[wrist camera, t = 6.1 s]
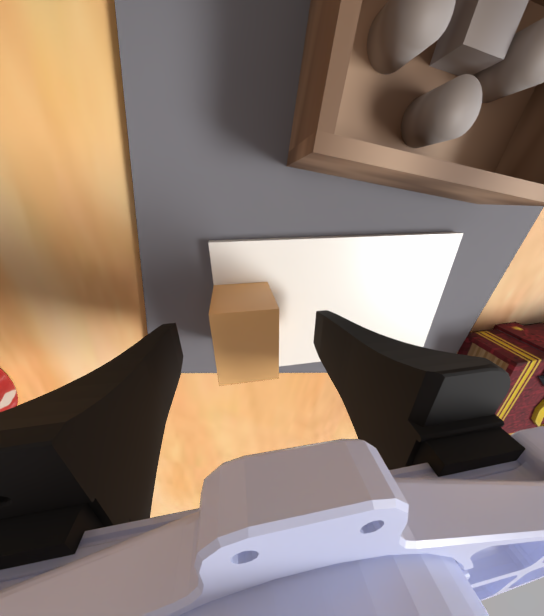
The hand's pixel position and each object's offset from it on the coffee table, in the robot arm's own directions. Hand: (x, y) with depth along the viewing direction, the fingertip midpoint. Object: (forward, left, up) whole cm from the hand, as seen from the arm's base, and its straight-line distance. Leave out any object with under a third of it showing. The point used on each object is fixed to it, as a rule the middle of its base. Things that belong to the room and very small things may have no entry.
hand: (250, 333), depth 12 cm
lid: (-6, -1, -3) cm, 6 cm away
